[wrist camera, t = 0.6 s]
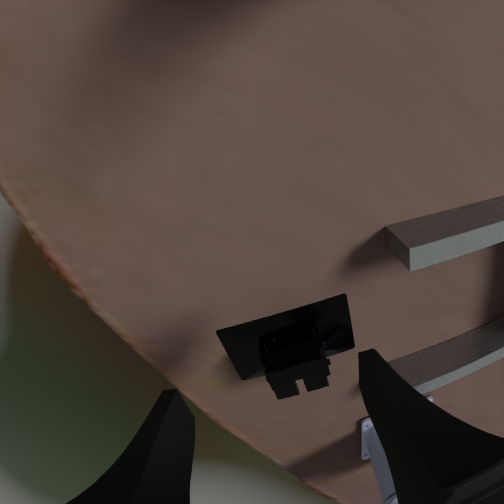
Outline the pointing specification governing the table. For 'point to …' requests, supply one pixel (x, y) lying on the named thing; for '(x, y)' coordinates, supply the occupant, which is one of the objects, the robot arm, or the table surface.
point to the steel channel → (435, 251)
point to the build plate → (291, 345)
